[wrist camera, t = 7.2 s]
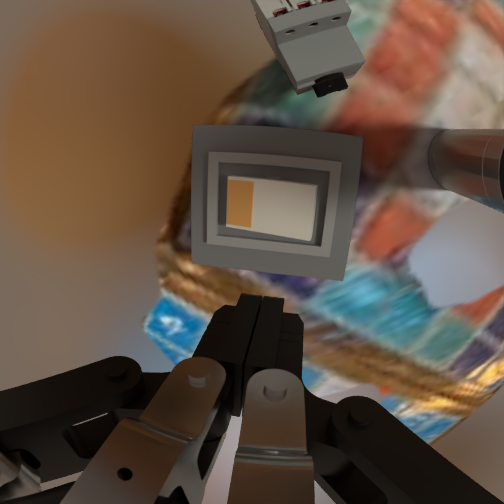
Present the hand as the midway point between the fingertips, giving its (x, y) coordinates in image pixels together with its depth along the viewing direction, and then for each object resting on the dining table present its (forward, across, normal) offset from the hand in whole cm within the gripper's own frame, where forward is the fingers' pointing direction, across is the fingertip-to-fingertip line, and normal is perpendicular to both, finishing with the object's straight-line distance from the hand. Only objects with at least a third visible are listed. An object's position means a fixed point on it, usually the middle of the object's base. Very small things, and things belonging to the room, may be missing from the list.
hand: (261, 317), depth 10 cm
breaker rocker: (+23, +2, +1) cm, 23 cm away
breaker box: (+31, +2, +1) cm, 31 cm away
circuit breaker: (+31, -1, -19) cm, 36 cm away
